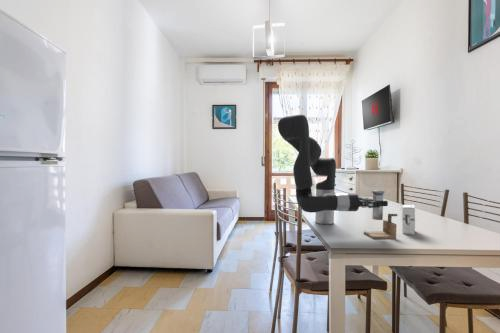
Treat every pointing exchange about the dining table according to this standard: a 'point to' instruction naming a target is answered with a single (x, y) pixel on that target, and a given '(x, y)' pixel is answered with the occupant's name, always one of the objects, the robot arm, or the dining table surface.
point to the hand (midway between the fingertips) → (384, 202)
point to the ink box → (408, 219)
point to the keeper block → (384, 230)
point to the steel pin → (377, 212)
